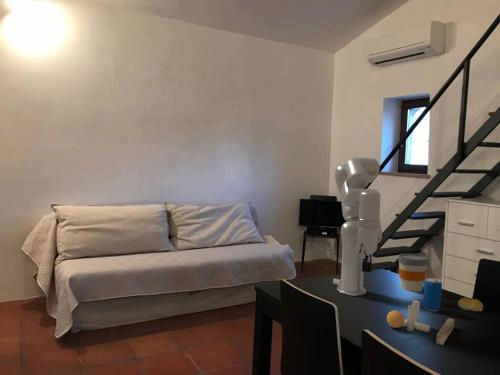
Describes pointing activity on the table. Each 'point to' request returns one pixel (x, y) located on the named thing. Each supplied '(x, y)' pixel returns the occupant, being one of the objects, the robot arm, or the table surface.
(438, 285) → the beverage can
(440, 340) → the cream long bar
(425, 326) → the front pin
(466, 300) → the bread roll
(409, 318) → the pin
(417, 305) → the pin
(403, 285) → the reusable coffee cup
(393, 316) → the ball
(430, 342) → the table surface
